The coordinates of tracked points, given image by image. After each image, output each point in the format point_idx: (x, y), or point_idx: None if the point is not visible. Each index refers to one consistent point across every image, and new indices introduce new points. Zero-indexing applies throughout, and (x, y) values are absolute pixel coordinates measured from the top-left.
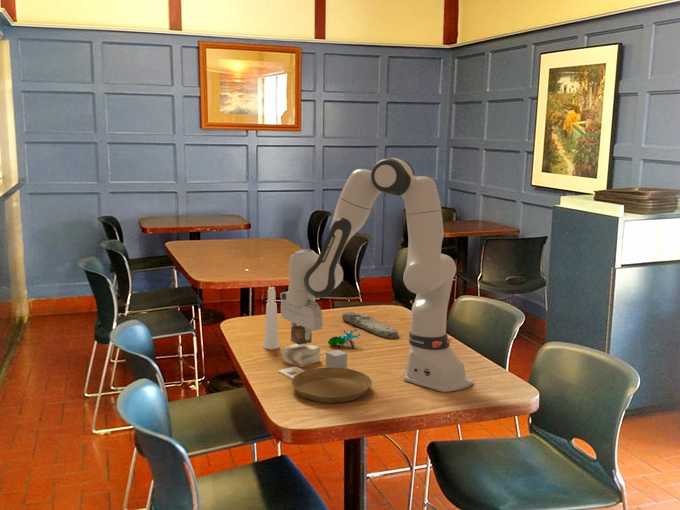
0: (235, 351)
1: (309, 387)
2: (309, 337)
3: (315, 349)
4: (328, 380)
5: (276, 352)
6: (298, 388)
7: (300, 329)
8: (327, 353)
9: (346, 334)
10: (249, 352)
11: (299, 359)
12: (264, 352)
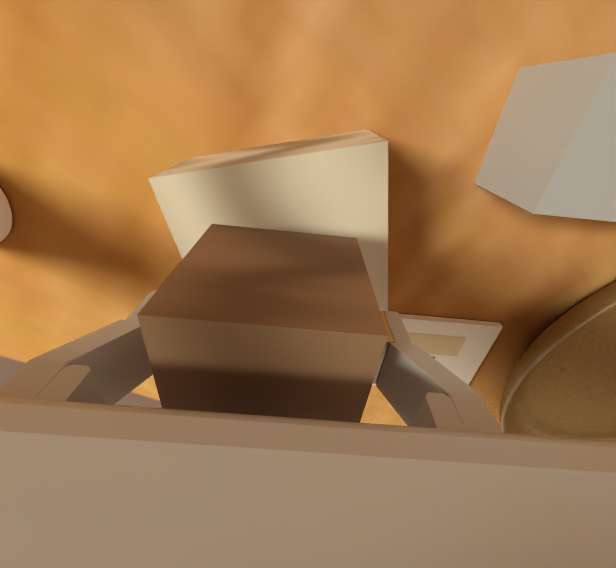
0: (9, 356)
1: (559, 401)
2: (400, 327)
3: (386, 201)
4: (607, 326)
5: (81, 236)
6: (525, 421)
7: None
8: (549, 214)
9: None
10: (41, 327)
11: None
12: (61, 281)
